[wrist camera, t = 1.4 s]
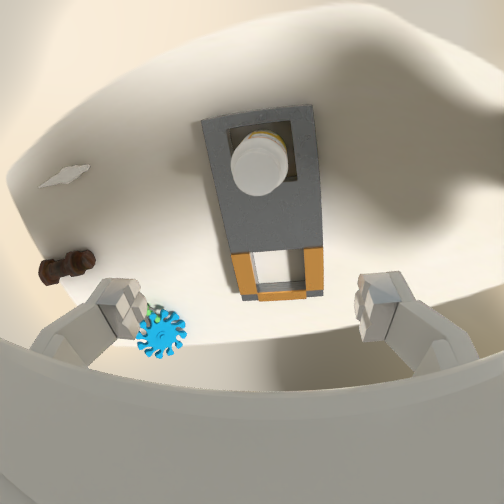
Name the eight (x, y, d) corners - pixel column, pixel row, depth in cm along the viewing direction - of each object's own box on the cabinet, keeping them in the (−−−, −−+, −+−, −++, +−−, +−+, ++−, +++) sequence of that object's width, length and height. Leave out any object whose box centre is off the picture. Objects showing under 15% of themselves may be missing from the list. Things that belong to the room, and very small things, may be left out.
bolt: (102, 250, 43) (58, 265, 47) (83, 237, 39) (42, 255, 42) (97, 280, 41) (53, 290, 44) (77, 268, 36) (36, 281, 40)
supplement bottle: (257, 180, 32) (247, 214, 24) (231, 144, 30) (211, 166, 22) (295, 158, 30) (300, 185, 22) (270, 120, 28) (265, 131, 20)
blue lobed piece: (195, 344, 49) (150, 368, 44) (182, 330, 54) (141, 352, 49) (176, 298, 45) (125, 323, 40) (164, 286, 49) (118, 308, 44)
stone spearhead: (89, 156, 32) (82, 160, 30) (95, 172, 33) (87, 177, 32) (38, 179, 35) (31, 183, 33) (43, 191, 36) (36, 196, 35)
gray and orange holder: (310, 104, 26) (312, 105, 24) (322, 287, 40) (323, 297, 38) (205, 118, 28) (200, 120, 26) (244, 292, 42) (242, 302, 40)
